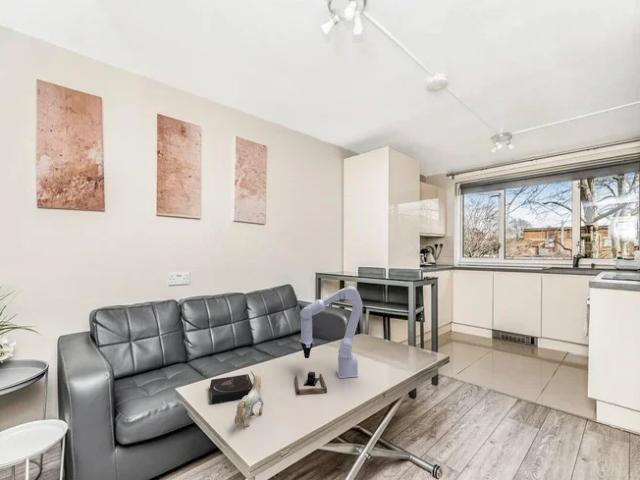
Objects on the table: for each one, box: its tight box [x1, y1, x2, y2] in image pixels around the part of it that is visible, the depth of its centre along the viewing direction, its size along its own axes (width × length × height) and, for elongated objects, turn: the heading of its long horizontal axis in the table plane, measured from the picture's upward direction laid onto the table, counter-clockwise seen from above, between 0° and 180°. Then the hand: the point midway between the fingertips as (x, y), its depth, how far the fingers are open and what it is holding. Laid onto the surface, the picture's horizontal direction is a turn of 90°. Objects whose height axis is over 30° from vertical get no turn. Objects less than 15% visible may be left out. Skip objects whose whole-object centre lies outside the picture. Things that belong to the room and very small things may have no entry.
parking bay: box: [294, 373, 328, 396], centre depth 137 cm, size 13×16×2 cm
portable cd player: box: [209, 373, 253, 405], centre depth 131 cm, size 16×17×4 cm
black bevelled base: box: [303, 371, 320, 388], centre depth 141 cm, size 12×7×5 cm, turn 168°
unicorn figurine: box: [233, 370, 265, 428], centre depth 111 cm, size 7×20×13 cm, turn 176°
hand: (306, 357), depth 152 cm, fingers closed
